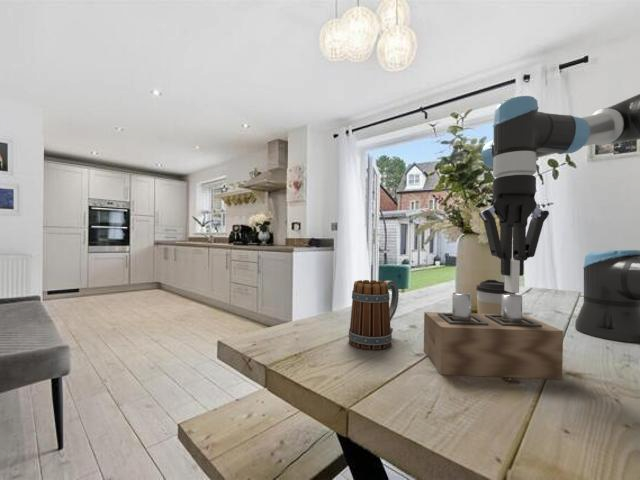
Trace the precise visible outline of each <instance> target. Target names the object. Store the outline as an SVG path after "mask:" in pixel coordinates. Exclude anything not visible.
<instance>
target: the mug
mask: <svg viewBox="0 0 640 480" xmlns="http://www.w3.org/2000/svg"><path fill="white" fill-rule="evenodd" d="M389 287H390V290H391V300H390V292H389ZM399 292H400V291H399V287H398V285H397V283H396V282H395V281H393V280H384V281H382V280H374V279H372V280H369V279H363V280H361V279H359V280H355V281H354V283H353V289H352V291H351V299H352V300H351V301H352V302H351V314H350V323H349V329H348V342H349V343H350V344H351V345H352V346H354V347H356V348H357V349H360V350H365V351H379V350H380V351H381V350H386V349H388V348H389V347H391V345H392V340H393V337H392V336H393V335H392V334H393V331H394V328H393V327H391V322H392V319H393V317H394V315H395V314H396V311H397V308H398V303H399V298H400V297H399V295H400V293H399Z"/></svg>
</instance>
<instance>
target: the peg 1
mask: <svg viewBox="0 0 640 480" xmlns="http://www.w3.org/2000/svg"><path fill="white" fill-rule="evenodd" d="M451 296H452V301H451V302H452V304H451V306H452V308H451V309H452V311H451V313H452V321H462V322H471V313H472V293H469V292H460V291H459V292H452V295H451Z"/></svg>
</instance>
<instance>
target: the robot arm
mask: <svg viewBox="0 0 640 480" xmlns="http://www.w3.org/2000/svg"><path fill="white" fill-rule="evenodd" d="M539 109H540V108H539V104H538V100H537V98H535V97H534V96H531V95H519V96H514V97H511V98H508V99H506V100H504V101H502V102H500V103H498V105H497V106H496V108H495V110H494V115H493V117H494V118H493V126H492V128H493V139H492V140H490V141H489V142H487V143H486V144H485V145H484V146H483V147H482V150H481V154H480V155H481V160H482V162H483V165H484V166H486V167H487V168H488V169H492V173H493V174H492V176H493V177H494V179H493V180H492V201H491V203H490V206H489V207H487V208H485V209H484V210H480V211H479V212H478V215H479V218H481V220H482V221H483V224H484V225H483V226H484V230H485V233H486V237H487V243H488V245H489V251H490V255H491V256H494V257H496V258H498V259H500V274H501V275H502V276H504V282H505V284H504V290H505V291H508V292H511V293H515V294H520V277H522V276H524V271H525V270H524V267H525V266H524V265H525V261H527V260H528V259H529V258H534V256H535V255H536V251H537V247H538V243H539V241H540V238H541V233H542V230H543V226H544V222H545V221H546V220H547V218H548V217H549V215H550V211H548V210H547V209H545V210H542V208H540V207H538V203H537V201H536V199H535V196H536V192H537V177H536V176H535V174H536V173H537V159H538V158H543V157H547V156H551V155H555V154H558V155H564V154H572V153H576V152H577V151H579V150H581V149H582V148H583V147H586V146H591V145H594V146H595V145H596V146H606V145H609V144H611V145H612V144H615V143H623V142H629V141H630V142H631V141H636V140H640V93H639V94H636V95H634V96H632V97H629V98H627V99H625V100H623V101H620V102H618V103H616V104H614V105H611V106H608V107H605V108H602V109H598V110H595V111H594V112H593V113H592V114H590V115H588V116H583V117H578V116H574V115H571V114H557V113H548V112H543V111H538V110H539ZM495 215H496V216H497V218H498V220H499V221H498V222H499V223H498V225H499V228H500V229H499V231H500V232H499V231H498V227H497V222H496V219H495ZM529 217H531V219H530V220H528V219H529ZM528 221H529V224H528ZM526 230H527V231H526ZM499 233H500V234H499ZM499 235H500V236H499ZM583 263H584V264H583V265H584V266H583V268H582V269H583V304H582V305H581V308H580V310H579V312H578V316H577V317H576V319H575V321H574V322H575V325H574V326H575V327H574V328H575V329H576V331H578V332H581V333H583V334H586V335H589V336H593V337H596V338H602V339H604V340H605V339H606V340H612V341H617V342H627V343H628V342H629V343H640V249H622V250H604V251H594V252H593V251H592V252H589V253H587V254H586V255H585V256H584V262H583Z"/></svg>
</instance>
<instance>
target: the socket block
mask: <svg viewBox="0 0 640 480" xmlns="http://www.w3.org/2000/svg"><path fill="white" fill-rule="evenodd" d="M423 316H424V318H423V322H424V323H423V325H424V326H423V353H425V355H426V356H427V357H428V359H429V360H430V362H431V364H432V365H433V366H434V367H435V369H436V370H437V371H438V373H439V374H440V375H447V376H470V377H471V376H472V377H473V376H474V377H490V378H491V377H493V378H494V377H497V378H517V379H519V378H520V379H538V380H539V379H540V380H541V379H542V380H563V361H564V360H563V358H564V355H563V353H564V352H563V349H564V330H562V329H559V328H557V327H554V326H552V325H549V324H547V323H545V322H543V321H540V320H537V319H535V318H533V317H531V316H528V315H525V314H522V323H504V322H502V321H501V314H478V313H472V312H471V322H462V321H452V312H439V311H438V312H434V311H433V312H432V311H431V312H430V311H424V312H423Z"/></svg>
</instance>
